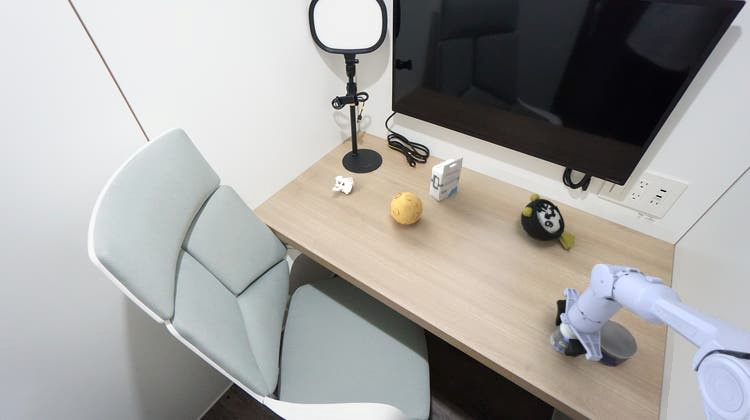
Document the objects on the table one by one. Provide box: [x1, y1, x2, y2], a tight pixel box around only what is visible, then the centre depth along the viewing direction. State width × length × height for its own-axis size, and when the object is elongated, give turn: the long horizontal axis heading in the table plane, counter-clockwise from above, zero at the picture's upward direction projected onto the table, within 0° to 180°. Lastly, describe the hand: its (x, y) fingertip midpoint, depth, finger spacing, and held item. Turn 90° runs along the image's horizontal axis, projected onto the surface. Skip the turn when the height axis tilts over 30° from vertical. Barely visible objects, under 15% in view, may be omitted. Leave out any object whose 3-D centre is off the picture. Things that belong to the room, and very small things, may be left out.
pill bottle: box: [549, 323, 578, 354], centre depth 68 cm, size 5×5×8 cm
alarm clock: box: [520, 193, 576, 250], centre depth 90 cm, size 12×15×15 cm
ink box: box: [429, 157, 464, 202], centre depth 103 cm, size 8×5×15 cm, turn 124°
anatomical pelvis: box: [332, 175, 354, 195], centre depth 110 cm, size 8×4×7 cm
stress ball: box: [390, 191, 424, 225], centre depth 96 cm, size 10×10×10 cm
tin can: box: [597, 319, 638, 367], centre depth 68 cm, size 8×8×5 cm
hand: (564, 339), depth 69 cm, fingers open, 6 cm apart
